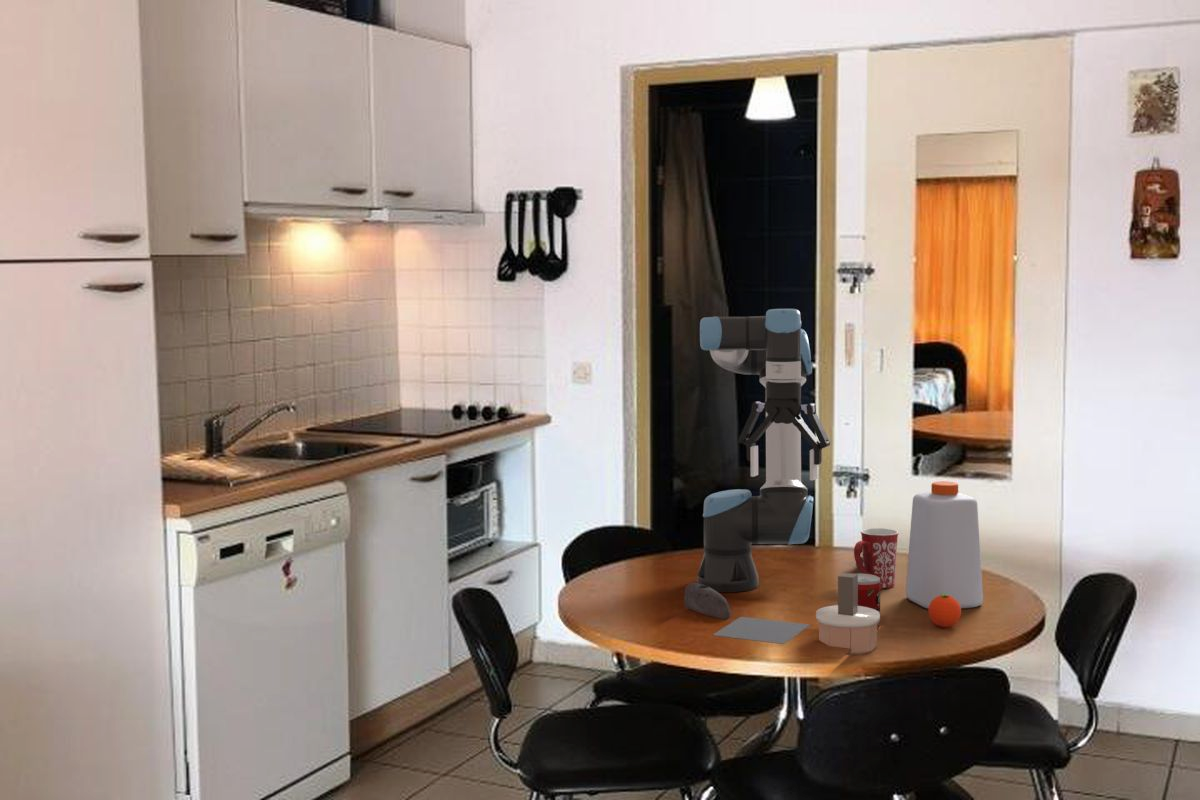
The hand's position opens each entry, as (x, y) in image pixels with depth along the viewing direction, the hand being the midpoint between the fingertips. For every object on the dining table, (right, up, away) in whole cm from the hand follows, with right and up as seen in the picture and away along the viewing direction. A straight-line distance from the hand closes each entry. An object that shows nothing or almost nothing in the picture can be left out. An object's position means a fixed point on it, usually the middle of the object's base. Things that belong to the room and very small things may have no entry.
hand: (783, 477), depth 299 cm
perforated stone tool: (-15, -32, +10) cm, 37 cm away
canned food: (+17, -33, 0) cm, 37 cm away
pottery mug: (+31, -27, +54) cm, 68 cm away
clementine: (+35, -33, 0) cm, 48 cm away
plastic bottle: (+40, -30, +20) cm, 54 cm away
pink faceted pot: (+11, -34, -15) cm, 39 cm away
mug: (+27, -29, +36) cm, 53 cm away
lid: (+11, -28, -15) cm, 34 cm away
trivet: (-5, -34, -6) cm, 35 cm away
